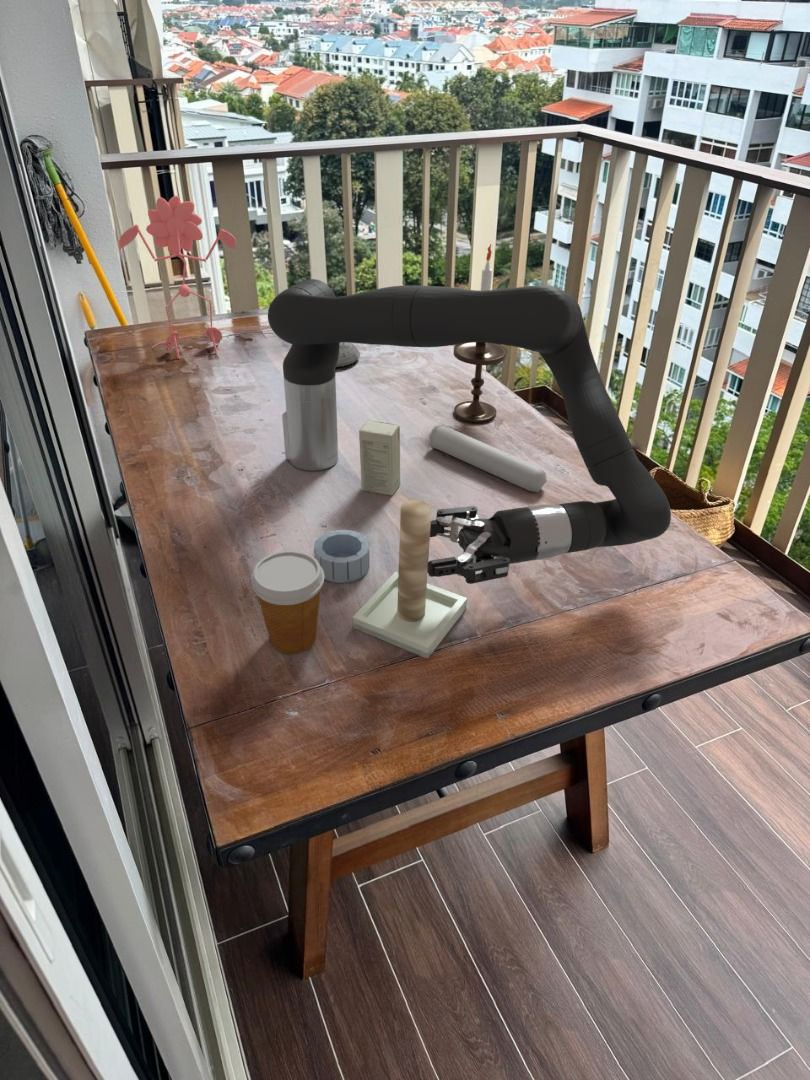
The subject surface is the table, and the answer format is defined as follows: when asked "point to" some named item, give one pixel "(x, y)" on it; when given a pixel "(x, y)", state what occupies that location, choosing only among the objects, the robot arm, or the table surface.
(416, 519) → the dowel
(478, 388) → the candlestick
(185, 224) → the figurine
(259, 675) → the table surface
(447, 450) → the tube
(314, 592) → the disposable coffee cup
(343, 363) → the flying saucer
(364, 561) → the holder
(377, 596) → the tray
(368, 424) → the skincare box
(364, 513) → the table surface
